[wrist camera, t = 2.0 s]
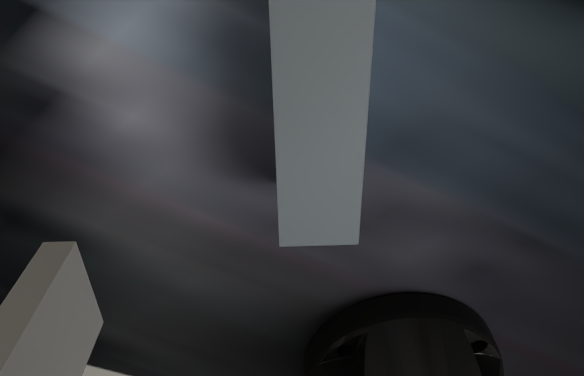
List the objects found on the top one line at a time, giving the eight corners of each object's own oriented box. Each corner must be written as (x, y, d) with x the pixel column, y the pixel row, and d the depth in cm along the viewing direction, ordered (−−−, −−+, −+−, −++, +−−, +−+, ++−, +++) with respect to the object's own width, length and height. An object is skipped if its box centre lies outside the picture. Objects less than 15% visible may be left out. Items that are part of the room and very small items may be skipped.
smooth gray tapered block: (344, 182, 29) (358, 244, 24) (279, 183, 29) (279, 246, 24) (363, -218, 19) (394, -259, 14) (263, -216, 19) (257, -256, 14)
